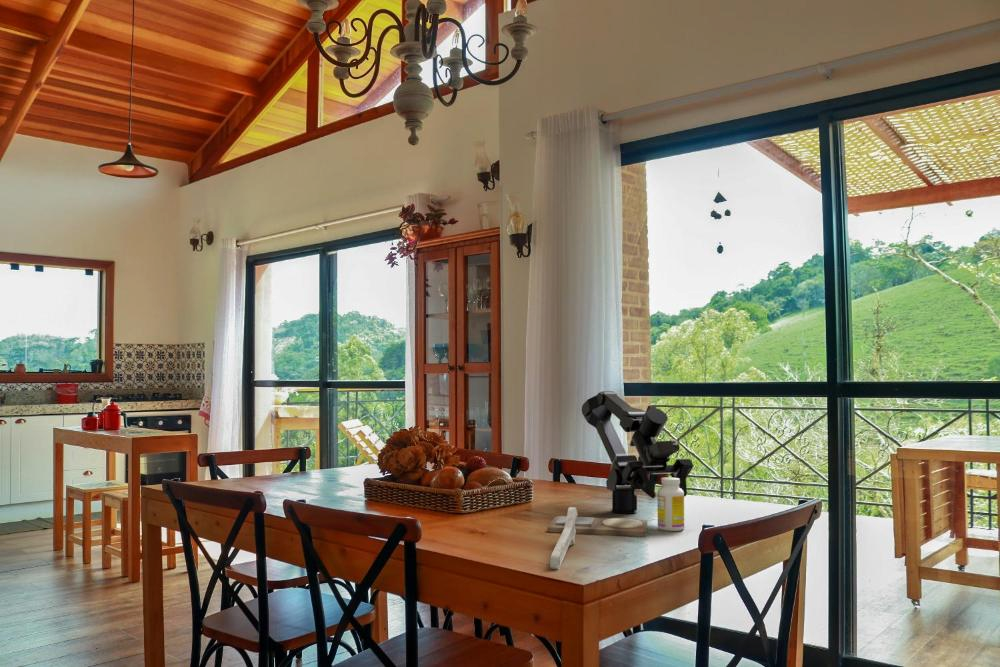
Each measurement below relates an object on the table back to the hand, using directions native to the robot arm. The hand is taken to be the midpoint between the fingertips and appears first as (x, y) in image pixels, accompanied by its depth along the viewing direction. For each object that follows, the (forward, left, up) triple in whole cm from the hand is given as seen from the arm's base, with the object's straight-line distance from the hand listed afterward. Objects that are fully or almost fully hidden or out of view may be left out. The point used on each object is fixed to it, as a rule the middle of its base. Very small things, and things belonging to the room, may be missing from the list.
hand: (669, 496), depth 212 cm
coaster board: (-18, -3, -8) cm, 20 cm away
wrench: (-23, -33, -9) cm, 41 cm away
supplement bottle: (0, 0, -8) cm, 8 cm away
